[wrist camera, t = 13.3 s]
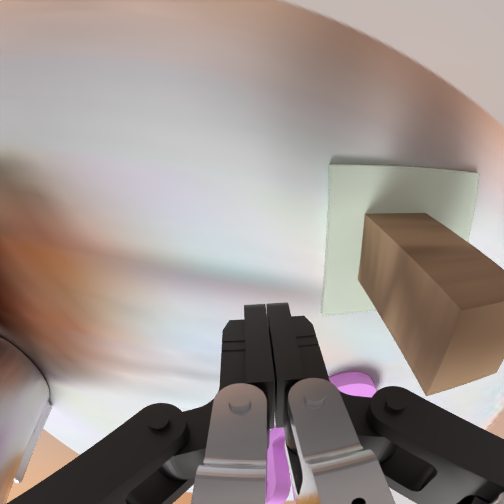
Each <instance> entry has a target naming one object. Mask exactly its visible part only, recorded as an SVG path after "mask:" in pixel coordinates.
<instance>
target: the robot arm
mask: <svg viewBox="0 0 504 504" xmlns="http://www.w3.org/2000/svg"><path fill="white" fill-rule="evenodd" d="M244 317H245V320H229V322H228V323H227V325H226V326H225V328H224V329H223V336H222V353H221V372H220V388H219V391H218V393H217V394H216V396H215V398H214V399H213V400H212V401H211V402H209V403H208V404H206V405H204V406H202V407H199V408H196V409H192V410H188V411H184V412H182V411H181V410H180V409H179V408H177V407H176V406H173V405H171V404H167V403H157V404H152V405H149V406H147V407H145V408H144V409H142V410H141V411H139V412H138V413H137V414H136V415H134V416H133V417H132V418H130V419H129V420H128V421H126V422H125V423H124V424H122V425H121V426H120V427H118V428H117V429H116V430H114V431H113V432H111V433H110V434H109V435H107V436H106V437H105V438H103V439H102V440H101V441H99V442H98V443H96V444H95V445H94V446H92V447H91V448H89V449H88V450H87V451H85V452H84V453H82V454H81V455H80V456H78V457H77V458H75V459H74V460H72V461H71V462H69V463H68V464H67V465H65V466H64V467H62V468H61V469H59V470H58V471H56V472H55V473H53V474H52V475H50V476H49V477H47V478H46V479H45V480H43V481H41V482H40V483H38V484H37V485H35V486H34V487H32V488H31V489H29V490H28V491H26V492H24V493H23V494H21V495H20V496H18V497H17V498H15V499H13V500H12V501H10V502H9V503H7V504H172V503H173V502H175V501H176V500H177V499H178V498H179V497H180V496H181V495H182V494H183V493H184V492H186V491H187V490H188V489H189V488H190V487H191V486H192V485H193V484H194V488H193V494H192V500H191V504H267V450H268V448H269V445H270V429H271V428H274V412H275V421H276V428H282V427H284V433H285V452H286V457H287V461H288V466H289V470H290V475H291V479H292V484H293V488H294V493H295V498H296V504H395V501H394V499H393V496H392V494H391V491H390V489H389V487H390V488H391V489H393V490H395V491H397V492H398V493H400V494H402V495H403V496H405V497H407V498H408V499H410V500H412V501H414V502H415V503H417V504H504V439H502V438H500V437H498V436H496V435H494V434H492V433H490V432H488V431H486V430H484V429H482V428H480V427H478V426H476V425H474V424H472V423H470V422H468V421H466V420H464V419H462V418H460V417H458V416H456V415H454V414H452V413H450V412H448V411H446V410H444V409H442V408H441V407H439V406H437V405H435V404H433V403H431V402H429V401H427V400H425V399H423V398H422V397H420V396H418V395H416V394H414V393H412V392H410V391H409V390H407V389H404V388H402V387H397V386H389V387H384V388H382V389H380V390H378V391H377V392H376V393H375V394H374V395H373V396H372V397H362V396H353V395H348V394H345V393H343V392H341V391H339V390H338V389H337V387H336V386H335V385H334V384H332V383H331V382H330V380H329V377H328V374H327V370H326V367H325V364H324V360H323V357H322V354H321V350H320V347H319V344H318V340H317V337H316V334H315V331H314V327H313V324H312V323H311V322H310V321H309V320H308V319H307V318H306V317H305V316H293V317H291V314H290V309H289V305H288V303H272V304H267V315H266V307H265V304H256V305H244ZM49 396H50V393H49V388H48V385H47V383H46V381H45V379H44V377H43V376H42V374H41V373H40V371H39V370H38V369H37V367H36V366H35V365H34V364H33V363H32V362H31V361H30V360H29V358H27V357H26V356H25V355H24V354H23V353H22V352H21V351H20V350H19V349H17V348H16V347H15V346H14V345H12V344H11V343H9V342H8V341H6V340H5V339H3V338H1V337H0V504H6V501H7V498H8V495H9V492H10V490H11V487H12V484H13V482H15V483H20V482H22V480H23V477H24V474H25V472H26V469H27V466H28V463H29V461H30V458H31V456H32V453H33V451H34V448H35V446H36V443H37V441H38V439H39V436H40V434H41V431H42V429H43V427H44V424H45V422H46V420H47V418H48V415H49V413H50V411H51V409H52V407H51V405H50V404H49Z"/></svg>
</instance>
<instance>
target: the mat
mask: <svg viewBox="0 0 504 504" xmlns="http://www.w3.org/2000/svg"><path fill="white" fill-rule="evenodd" d="M478 181H479V173H476V172H468V171H458V170H448V169H436V168H422V167H407V166H387V165H357V164H329V195H328V220H327V239H326V255H325V269H324V282H323V294H322V305H321V314H322V316H331V315H341V314H350V313H360V312H368V311H377V310H376V308H375V306H374V305H373V303H372V302H371V300H370V298H369V297H368V295H367V294H366V292H365V290H364V289H363V287H362V286H361V284H360V283H359V281H358V273H359V265H360V256H361V247H362V238H363V227H364V216H365V214H382V213H427V214H428V215H430V216H431V217H433V218H434V219H436V220H437V221H438V222H440V223H441V224H443V225H444V226H446V227H447V228H449V229H450V230H452V231H453V232H454V233H456V234H457V235H459V236H460V237H461V238H463V239H464V240H466V241H467V242H468V240H469V236H470V231H471V226H472V220H473V215H474V209H475V202H476V196H477V189H478Z"/></svg>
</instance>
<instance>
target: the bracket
mask: <svg viewBox="0 0 504 504" xmlns="http://www.w3.org/2000/svg"><path fill="white" fill-rule="evenodd" d="M329 380H330V382H331V383H332V384H334V385H335V386H336V387H337V389H338V390H339V391H341V392H343V393H345V394H348V395H353V396H362V397H372V396H373V395H374V394H375V393H376V392H377V390H376V388H375V385H374V383H373V381H372V379H371V378H370V377H369V376H368V375H367V374H364V373H361V372H344V373H340V374H336V375H334V376H331V377H329ZM291 481H292V479H291ZM291 481H290V473H289V466H288V461H287V457H286V452H285V433H284V427H282V428H276V426H275V427H274V428H273V429H272V430H271V431H270V445H269V448H268V450H267V504H283V503H284V502H285V500H286V499H287V497H288V495H289V492H290V486H291ZM292 488H293V484H292ZM293 495H294V500H295V502H296V498H295V493H294V488H293Z"/></svg>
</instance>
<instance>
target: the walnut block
mask: <svg viewBox="0 0 504 504" xmlns="http://www.w3.org/2000/svg"><path fill="white" fill-rule="evenodd" d="M358 281H359V283H360V284H361V286H362V287H363V289H364V290H365V292H366V294H367V295H368V297H369V298H370V300H371V302H372V303H373V305H374V306H375V308H376V310H377V311H378V313H379V315H380V316H381V318H382V320H383V321H384V323H385V325H386V326H387V328H388V330H389V331H390V333H391V335H392V336H393V338H394V340H395V341H396V343H397V345H398V347H399V348H400V350H401V352H402V354H403V355H404V357H405V359H406V361H407V362H408V364H409V366H410V368H411V370H412V371H413V373H414V375H415V377H416V379H417V380H418V382H419V384H420V386H421V388H422V390H423V391H424V393H425V395H426V396H428V395H432V394H435V393H439V392H442V391H445V390H448V389H452V388H455V387H458V386H461V385H464V384H467V383H470V382H472V381H475V380H478V379H481V378H483V377H486V376H489V375H491V374H494V373H496V372H497V371H498V369H499V367H500V365H501V363H502V361H503V359H504V270H503V269H502V268H501V267H500V266H498V265H497V264H496V263H495V262H493V261H492V260H491V259H490V258H488V257H487V256H486V255H484V254H483V253H482V252H480V251H479V250H478V249H476V248H475V247H474V246H472V245H471V244H470V243H468V242H467V241H466V240H464V239H463V238H461V237H460V236H459V235H457V234H456V233H454V232H453V231H452V230H450V229H449V228H447V227H446V226H444V225H443V224H441V223H440V222H438V221H437V220H436V219H434V218H433V217H431V216H430V215H428V214H427V213H382V214H365V216H364V227H363V238H362V247H361V256H360V265H359V273H358Z"/></svg>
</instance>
